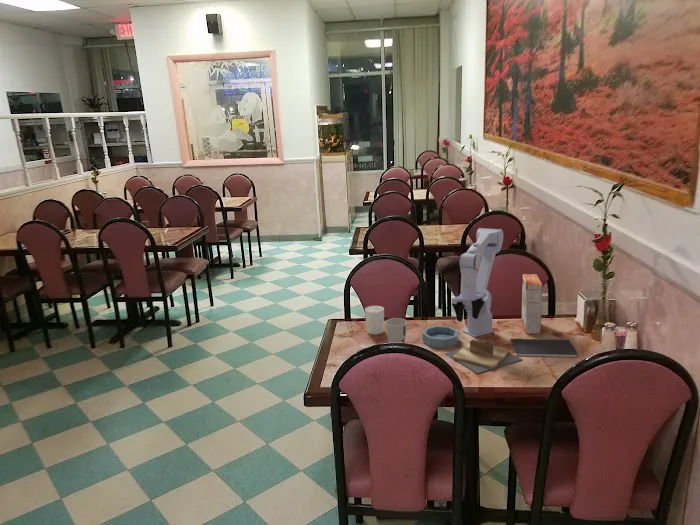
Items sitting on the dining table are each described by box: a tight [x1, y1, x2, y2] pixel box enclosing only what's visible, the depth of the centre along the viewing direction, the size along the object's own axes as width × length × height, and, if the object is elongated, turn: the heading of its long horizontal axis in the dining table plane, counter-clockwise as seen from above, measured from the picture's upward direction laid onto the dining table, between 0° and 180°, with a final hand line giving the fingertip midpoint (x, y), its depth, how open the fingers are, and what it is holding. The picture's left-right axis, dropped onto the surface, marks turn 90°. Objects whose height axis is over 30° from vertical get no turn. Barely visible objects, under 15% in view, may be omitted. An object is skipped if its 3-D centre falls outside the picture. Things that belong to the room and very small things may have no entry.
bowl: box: [422, 325, 459, 349], centre depth 197 cm, size 13×13×4 cm
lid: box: [452, 339, 511, 370], centre depth 181 cm, size 15×15×5 cm
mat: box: [444, 341, 523, 375], centre depth 182 cm, size 20×18×1 cm
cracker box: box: [521, 273, 543, 335], centre depth 203 cm, size 14×6×21 cm, turn 169°
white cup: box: [364, 305, 385, 335], centre depth 208 cm, size 8×8×10 cm
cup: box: [384, 317, 408, 344], centre depth 194 cm, size 8×8×10 cm
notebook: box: [510, 338, 578, 358], centre depth 186 cm, size 13×2×21 cm
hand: (467, 319), depth 192 cm, fingers open, 7 cm apart
